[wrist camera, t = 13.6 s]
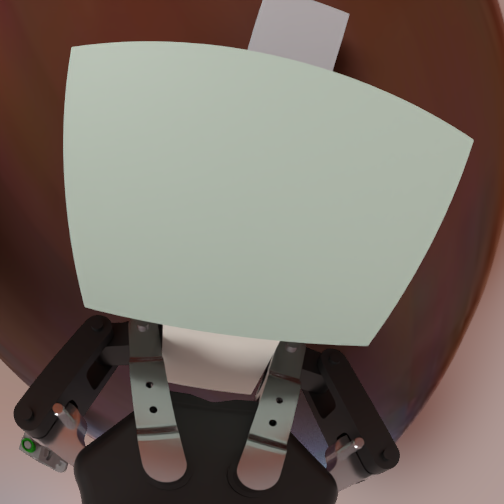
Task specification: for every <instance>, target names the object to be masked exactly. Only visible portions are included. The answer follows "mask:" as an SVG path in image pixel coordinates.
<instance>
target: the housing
mask: <svg viewBox="0 0 504 504" xmlns="http://www.w3.org/2000/svg"><path fill="white" fill-rule="evenodd" d="M473 141H474V140H473V139H472V138H470V137H469V136H467V135H466V134H464V133H462V132H461V131H459V130H458V129H456V128H454V127H453V126H451V125H449V124H448V123H446V122H444V121H443V120H441V119H439V118H437V117H436V116H434V115H432V114H430V113H428V112H427V111H425V110H423V109H421V108H419V107H417V106H415V105H413V104H411V103H409V102H407V101H405V100H403V99H401V98H399V97H396V96H394V95H392V94H390V93H388V92H385V91H383V90H381V89H378V88H376V87H374V86H371V85H369V84H366V83H364V82H361V81H358V80H356V79H353V78H350V77H348V76H345V75H342V74H339V73H336V72H333V71H330V70H327V69H324V68H320V67H317V66H314V65H310V64H307V63H303V62H299V61H296V60H292V59H288V58H283V57H279V56H275V55H270V54H265V53H260V52H255V51H250V50H244V49H238V48H231V47H224V46H216V45H207V44H196V43H182V42H116V43H103V44H93V45H84V46H76V47H72V49H71V54H70V61H69V68H68V75H67V84H66V95H65V108H64V133H63V156H64V181H65V195H66V206H67V215H68V224H69V231H70V238H71V244H72V250H73V256H74V262H75V267H76V272H77V277H78V281H79V286H80V290H81V294H82V298H83V302H84V306H85V307H86V308H90V309H94V310H98V311H102V312H106V313H110V314H114V315H119V316H123V317H128V318H132V319H137V320H142V321H147V322H152V323H157V324H162V325H168V326H173V327H179V328H185V329H191V330H197V331H204V332H210V333H217V334H224V335H232V336H240V337H248V338H256V339H266V340H276V341H287V342H299V343H312V344H329V345H351V346H368V345H369V344H370V342H371V341H372V340H373V338H374V337H375V335H376V334H377V332H378V331H379V330H380V328H381V327H382V325H383V324H384V322H385V321H386V319H387V318H388V316H389V315H390V313H391V312H392V310H393V309H394V307H395V306H396V304H397V302H398V301H399V299H400V298H401V296H402V294H403V293H404V291H405V289H406V288H407V286H408V284H409V283H410V281H411V279H412V278H413V276H414V274H415V272H416V271H417V269H418V267H419V265H420V264H421V262H422V260H423V258H424V256H425V254H426V252H427V251H428V249H429V247H430V245H431V243H432V241H433V239H434V237H435V235H436V233H437V231H438V229H439V227H440V225H441V222H442V220H443V218H444V216H445V214H446V212H447V209H448V207H449V205H450V202H451V200H452V198H453V195H454V193H455V191H456V188H457V186H458V183H459V181H460V178H461V175H462V173H463V170H464V167H465V164H466V162H467V159H468V156H469V153H470V150H471V147H472V144H473Z"/></svg>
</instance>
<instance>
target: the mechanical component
mask: <svg viewBox="0 0 504 504" xmlns="http://www.w3.org/2000/svg"><path fill="white" fill-rule="evenodd" d="M19 449H20V450H21V451H23V452H24V453H26V454H27V455H29V456H30V457H32V458H33V459H35V460H37V461H38V462H40V463H42V464H44V465H46V466H48V467H50V468H52V469H53V470H55V471H57V472H64V471H65V470H66V469H67V466H68V462H66V461H65V460H63V459H62V458H61V457H59V456H58V455H57V454H56V453H54V452H53V451H50V450H48V449H46V448H45V447H44V446H42V445H40V444H39V443H37V442H36V441H35V440H34V439H32V438H31V437H30V436H29V435H27V433H26V432H25V433H24V436H23V438H22V440H21V444H20V447H19Z"/></svg>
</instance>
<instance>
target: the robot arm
mask: <svg viewBox="0 0 504 504" xmlns="http://www.w3.org/2000/svg"><path fill="white" fill-rule="evenodd" d="M162 336H163V325H162V324H157V323H152V322H147V321H142V320H137V319H132V318H131V319H130V320H129V321H128V322H124V323H111V321H110V320H109V319H108V318H107V317H105V316H101V315H96V316H92V317H90V318H89V319H87V320H86V321H85V323H84V324H83V325H82V326H81V327H80V328H79V329H78V330H77V331H76V333H75V334H74V335H73V336H72V337H71V338H70V339H69V340H68V342H67V343H66V344H65V345H64V346H63V347H62V349H61V350H60V351H59V352H58V353H57V354H56V356H55V357H54V358H53V359H52V360H51V362H50V363H49V364H48V365H47V366H46V368H45V369H44V370H43V371H42V373H41V374H40V375H39V376H38V378H37V379H36V380H35V381H34V383H33V384H32V385H31V386H30V388H29V389H28V390H27V392H26V393H25V394H24V396H23V397H22V398H21V399H20V401H19V402H18V403H17V405H16V406H15V409H14V419H15V422H16V423H17V425H18V426H19V427H20V428H21V429H23V430H24V431H25V432H26V433H27V435H29V436H30V437H31V438H32V439H34V440H35V441H36V442H37V443H39V444H40V445H42V446H44V447H45V448H46V449H48V450H50V451H53V452H54V453H56V454H57V455H58V456H59V457H61V458H62V459H63V460H65V461H66V462H68V463H69V464H70V465H72V466H73V467H74V475H75V479H76V482H77V484H78V487H79V490H80V494H81V499H82V504H335V502H336V500H337V496H338V492H339V491H341V490H343V489H345V488H347V487H349V486H351V485H353V484H357V483H360V482H362V481H365V480H367V479H369V478H372V477H374V476H376V475H378V474H380V473H383V472H385V471H387V470H389V469H391V468H393V467H394V466H396V464H397V463H398V461H399V458H400V454H399V450H398V448H397V446H396V444H395V442H394V441H393V439H392V437H391V435H390V433H389V432H388V430H387V428H386V426H385V425H384V423H383V421H382V419H381V417H380V416H379V414H378V412H377V410H376V409H375V407H374V405H373V403H372V402H371V400H370V398H369V397H368V395H367V393H366V391H365V390H364V388H363V386H362V384H361V383H360V381H359V379H358V378H357V376H356V374H355V373H354V371H353V369H352V367H351V366H350V364H349V362H348V361H347V359H346V357H345V356H344V355H343V354H342V353H341V352H340V351H338V350H336V349H326V350H324V351H323V352H322V353H320V352H317V351H314V350H311V349H309V348H307V347H306V346H305V343H299V342H287V341H280V342H279V344H278V346H277V348H276V350H275V352H274V353H273V355H272V357H271V359H270V361H269V363H268V365H267V367H266V368H265V370H264V373H263V376H262V379H261V382H260V385H259V388H258V391H257V394H256V396H255V399H254V401H244V400H232V401H224V402H209V401H207V400H204V399H201V398H198V397H196V396H193V395H191V394H185V393H179V392H173V391H169V387H168V381H167V376H166V370H165V364H164V359H163V357H162V351H161V350H162ZM118 365H129V367H130V379H131V389H132V398H133V406H134V411H133V412H132V413H130V414H129V415H128V416H126V417H125V418H124V419H122V420H121V421H120V422H118V423H117V424H116V425H114V426H113V427H112V428H110V429H109V430H108V431H106V432H105V433H104V434H102V435H101V436H100V437H98V438H97V439H96V440H94V441H93V442H91V443H90V444H89V445H87V446H85V442H84V437H85V434H86V432H87V423H86V421H85V419H84V418H83V416H84V415H85V413H86V412H87V410H88V409H89V407H90V406H91V404H92V403H93V402H94V400H95V399H96V397H97V396H98V394H99V393H100V391H101V390H102V388H103V387H104V385H105V384H106V383H107V381H108V380H109V378H110V377H111V375H112V374H113V373H114V371H115V370H116V368H117V367H118ZM300 388H301V389H302V391H303V393H304V395H305V397H306V399H307V401H308V404H309V406H310V408H311V410H312V412H313V414H314V416H315V419H316V421H317V423H318V425H319V427H320V429H321V431H322V433H323V435H324V438H325V440H326V442H327V444H328V446H329V447H328V448H327V450H326V452H325V458H326V463H327V467H326V468H325V467H324V466H323V465H322V464H321V463H320V462H319V461H318V460H317V459H316V458H315V457H314V456H313V455H312V454H311V453H310V452H309V451H308V450H307V449H306V448H305V447H304V446H303V445H302V444H301V443H300V442H299V441H298V440H297V438H296V437H295V436H294V435H293V434H292V433H291V432H290V430H291V426H292V422H293V418H294V414H295V410H296V405H297V401H298V397H299V392H300Z"/></svg>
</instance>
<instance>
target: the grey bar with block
mask: <svg viewBox="0 0 504 504" xmlns="http://www.w3.org/2000/svg"><path fill="white" fill-rule="evenodd" d="M348 18H349V14H348V13H345V12H343V11H340V10H338V9H335V8H333V7H330V6H327V5H324V4H322V3H319V2H316V1H313V0H263V1H262V4H261V7H260V10H259V14H258V17H257V20H256V23H255V26H254V30H253V33H252V36H251V40H250V43H249V46H248V50H250V51H255V52H260V53H265V54H270V55H275V56H279V57H283V58H288V59H292V60H296V61H299V62H303V63H307V64H310V65H314V66H317V67H320V68H324V69H327V70H330V71H333V68H334V65H335V61H336V58H337V55H338V51H339V48H340V45H341V41H342V38H343V35H344V31H345V28H346V24H347V21H348ZM279 342H280V341H276V340H266V339H256V338H248V337H240V336H232V335H224V334H217V333H210V332H204V331H197V330H191V329H185V328H179V327H173V326H168V325H163V336H162V357H163V359H164V364H165V370H166V376H167V381H168V382H169V383H174V384H180V385H185V386H191V387H197V388H203V389H209V390H216V391H224V392H232V393H240V394H250V395H251V394H252V392H253V390H254V388H255V386H256V385H257V383H258V381H259V379H260V377H261V376H262V374H263V372H264V370H265V368H266V367H267V365H268V363H269V361H270V359H271V357H272V355H273V353H274V352H275V350H276V348H277V346H278V344H279Z"/></svg>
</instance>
